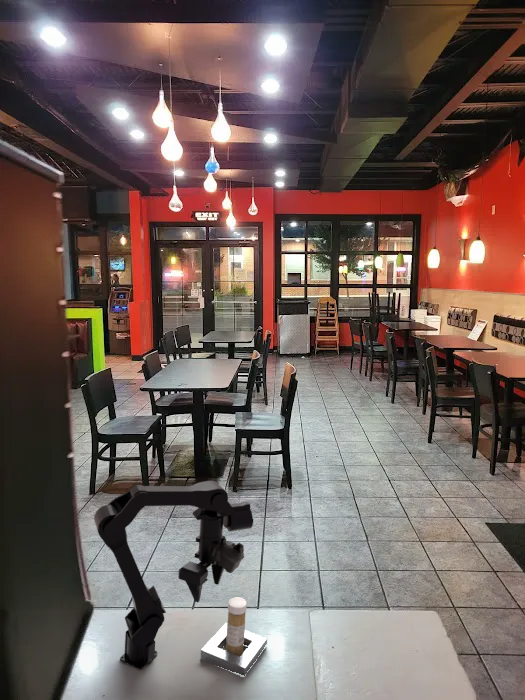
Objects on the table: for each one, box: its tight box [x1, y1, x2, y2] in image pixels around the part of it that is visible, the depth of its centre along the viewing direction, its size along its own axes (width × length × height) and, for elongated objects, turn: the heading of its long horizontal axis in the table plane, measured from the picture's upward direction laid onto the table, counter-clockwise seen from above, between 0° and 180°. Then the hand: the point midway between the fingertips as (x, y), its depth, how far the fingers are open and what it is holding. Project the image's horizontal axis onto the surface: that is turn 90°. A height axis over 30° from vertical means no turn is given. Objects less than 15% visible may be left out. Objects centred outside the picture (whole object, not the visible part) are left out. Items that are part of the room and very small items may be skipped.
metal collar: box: [200, 622, 268, 676], centre depth 122 cm, size 12×12×2 cm
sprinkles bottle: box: [225, 596, 248, 657], centre depth 121 cm, size 5×5×14 cm
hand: (207, 592), depth 124 cm, fingers open, 9 cm apart
